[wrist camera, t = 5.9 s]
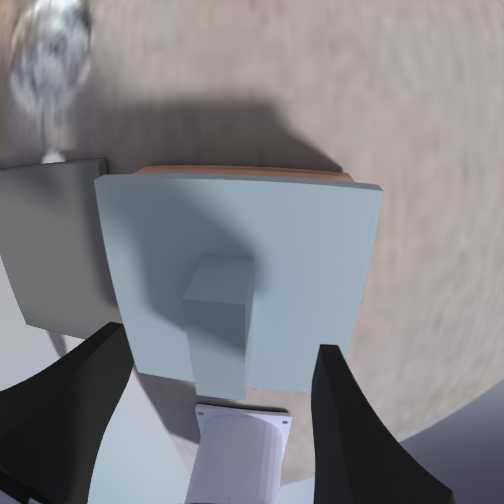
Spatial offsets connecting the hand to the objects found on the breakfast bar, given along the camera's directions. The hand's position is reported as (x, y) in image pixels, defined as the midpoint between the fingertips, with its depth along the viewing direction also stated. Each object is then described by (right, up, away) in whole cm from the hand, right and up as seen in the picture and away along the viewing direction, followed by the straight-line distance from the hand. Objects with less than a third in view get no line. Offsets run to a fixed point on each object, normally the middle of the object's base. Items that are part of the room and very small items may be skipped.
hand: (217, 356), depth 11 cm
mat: (-12, +3, +8) cm, 15 cm away
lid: (0, +2, +3) cm, 4 cm away
